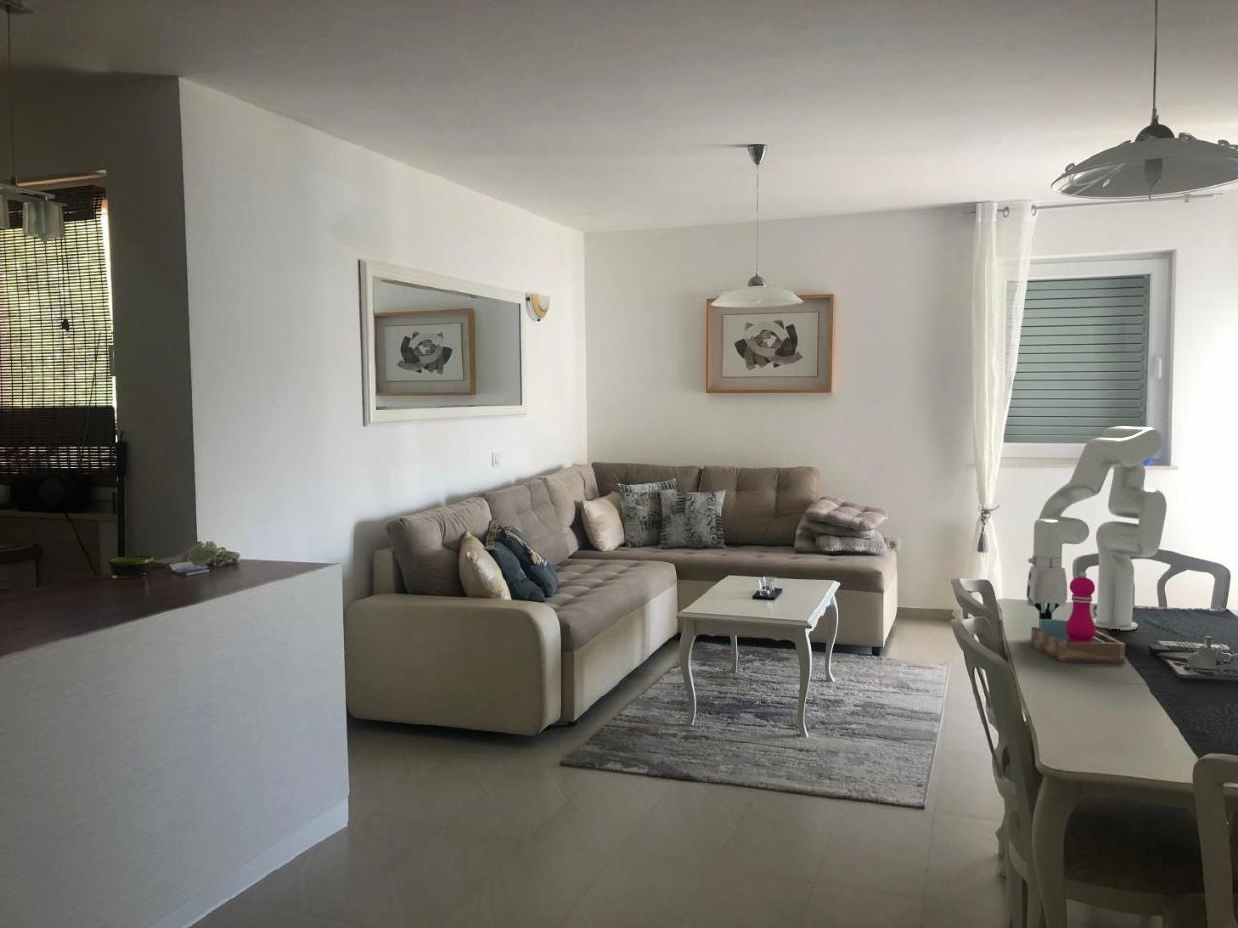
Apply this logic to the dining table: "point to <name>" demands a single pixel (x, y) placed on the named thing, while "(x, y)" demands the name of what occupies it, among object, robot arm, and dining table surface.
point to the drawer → (1059, 629)
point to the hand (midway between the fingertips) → (1045, 625)
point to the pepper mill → (1081, 610)
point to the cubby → (1079, 648)
